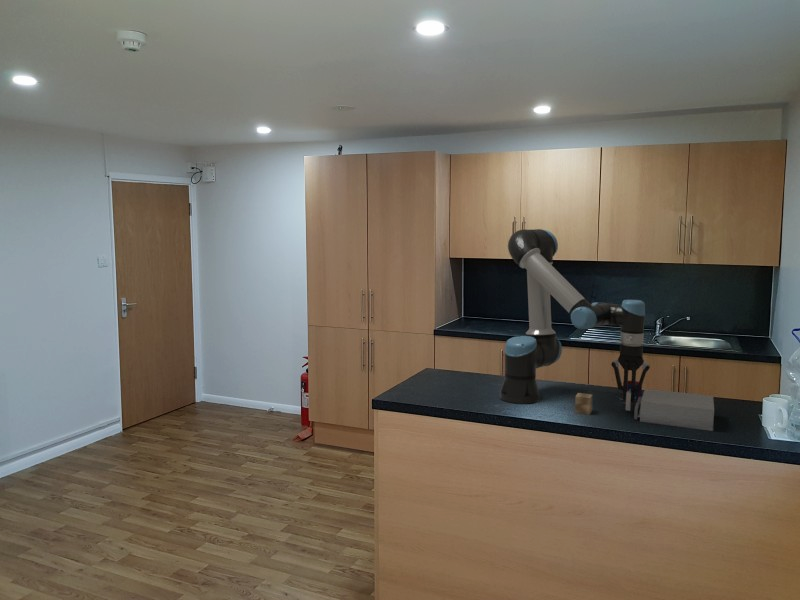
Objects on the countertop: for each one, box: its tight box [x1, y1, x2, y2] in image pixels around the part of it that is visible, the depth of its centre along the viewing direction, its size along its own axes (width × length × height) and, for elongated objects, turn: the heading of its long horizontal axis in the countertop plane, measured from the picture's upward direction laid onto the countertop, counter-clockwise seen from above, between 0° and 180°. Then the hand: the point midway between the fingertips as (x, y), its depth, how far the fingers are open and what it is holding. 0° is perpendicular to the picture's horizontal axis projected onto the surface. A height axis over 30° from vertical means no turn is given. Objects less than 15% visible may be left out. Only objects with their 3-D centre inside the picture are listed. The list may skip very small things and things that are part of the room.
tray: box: [633, 397, 642, 420], centre depth 209 cm, size 18×16×4 cm
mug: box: [622, 380, 643, 403], centre depth 231 cm, size 7×10×7 cm
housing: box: [639, 388, 715, 432], centre depth 207 cm, size 22×18×7 cm
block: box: [574, 392, 593, 416], centre depth 215 cm, size 5×5×6 cm
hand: (628, 409), depth 215 cm, fingers closed
